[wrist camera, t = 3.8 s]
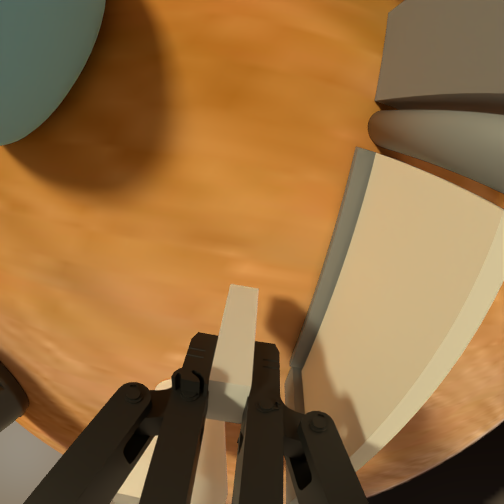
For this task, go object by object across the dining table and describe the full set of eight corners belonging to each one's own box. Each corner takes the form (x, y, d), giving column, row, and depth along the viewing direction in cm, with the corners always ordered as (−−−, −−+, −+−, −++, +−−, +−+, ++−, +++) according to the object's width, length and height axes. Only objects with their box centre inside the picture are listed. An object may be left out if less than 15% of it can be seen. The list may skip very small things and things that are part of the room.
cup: (250, 420, 26) (241, 530, 15) (171, 425, 27) (147, 519, 16) (214, 362, 22) (186, 503, 11) (126, 371, 24) (78, 481, 13)
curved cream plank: (375, 152, 14) (503, 210, 5) (412, 165, 14) (545, 233, 5) (301, 371, 21) (309, 493, 12) (331, 374, 21) (348, 491, 12)
